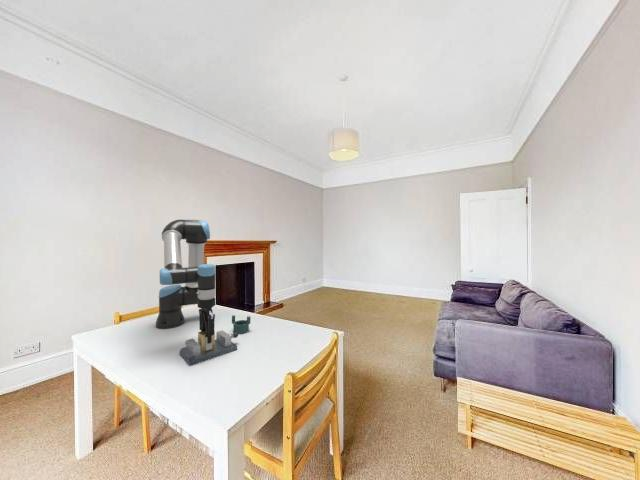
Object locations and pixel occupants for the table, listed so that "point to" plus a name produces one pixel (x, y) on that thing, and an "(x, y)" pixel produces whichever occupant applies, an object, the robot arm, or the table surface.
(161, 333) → the table surface
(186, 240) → the robot arm
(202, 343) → the brass block
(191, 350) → the vise
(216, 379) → the table surface
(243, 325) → the bracket
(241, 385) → the table surface
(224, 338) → the free jaw
